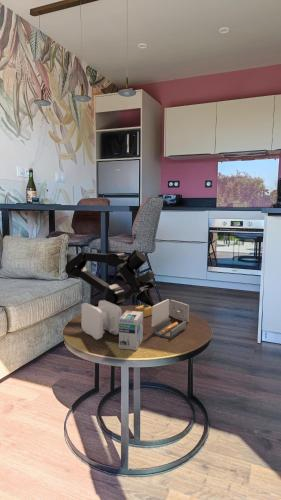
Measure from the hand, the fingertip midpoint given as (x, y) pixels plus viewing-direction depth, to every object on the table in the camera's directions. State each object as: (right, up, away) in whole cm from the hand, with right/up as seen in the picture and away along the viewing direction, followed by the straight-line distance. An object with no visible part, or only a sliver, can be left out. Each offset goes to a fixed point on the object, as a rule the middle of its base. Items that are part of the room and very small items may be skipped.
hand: (153, 306), depth 136 cm
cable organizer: (-21, -10, -7) cm, 24 cm away
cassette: (+12, -8, +14) cm, 20 cm away
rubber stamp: (-3, -7, +20) cm, 21 cm away
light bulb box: (-9, -11, -17) cm, 22 cm away
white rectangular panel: (+3, -2, -2) cm, 4 cm away
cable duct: (+7, -10, -3) cm, 12 cm away
